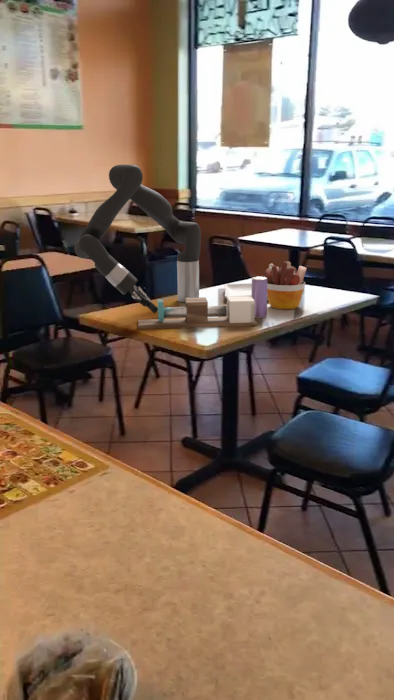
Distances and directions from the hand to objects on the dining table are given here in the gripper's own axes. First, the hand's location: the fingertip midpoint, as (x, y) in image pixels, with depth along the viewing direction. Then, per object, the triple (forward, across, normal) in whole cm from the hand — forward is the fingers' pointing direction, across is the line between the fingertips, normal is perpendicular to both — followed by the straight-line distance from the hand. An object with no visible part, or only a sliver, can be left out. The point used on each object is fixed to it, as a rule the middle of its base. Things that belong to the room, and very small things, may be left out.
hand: (156, 310), depth 232 cm
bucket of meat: (+41, +24, -33) cm, 58 cm away
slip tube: (+12, 0, -7) cm, 13 cm away
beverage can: (+32, +9, -24) cm, 41 cm away
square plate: (+36, +47, -27) cm, 65 cm away
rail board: (+14, 0, -7) cm, 16 cm away
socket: (+26, 0, -18) cm, 31 cm away
